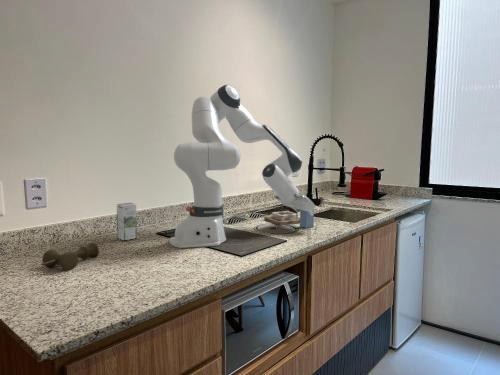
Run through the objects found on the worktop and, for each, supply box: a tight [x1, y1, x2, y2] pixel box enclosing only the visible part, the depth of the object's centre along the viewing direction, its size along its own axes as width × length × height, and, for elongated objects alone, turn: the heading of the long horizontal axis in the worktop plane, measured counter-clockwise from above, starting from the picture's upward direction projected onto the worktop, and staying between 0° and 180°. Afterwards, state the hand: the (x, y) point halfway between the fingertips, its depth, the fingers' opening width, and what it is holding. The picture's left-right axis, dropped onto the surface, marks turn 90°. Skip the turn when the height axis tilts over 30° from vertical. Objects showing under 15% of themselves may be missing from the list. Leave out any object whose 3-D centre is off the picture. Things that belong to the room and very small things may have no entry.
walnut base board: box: [263, 210, 300, 226], centre depth 189 cm, size 15×15×4 cm
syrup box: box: [116, 202, 138, 241], centre depth 152 cm, size 6×6×14 cm
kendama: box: [40, 242, 100, 272], centre depth 121 cm, size 6×10×20 cm
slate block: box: [299, 208, 315, 229], centre depth 176 cm, size 4×4×10 cm
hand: (305, 212), depth 176 cm, fingers open, 8 cm apart
